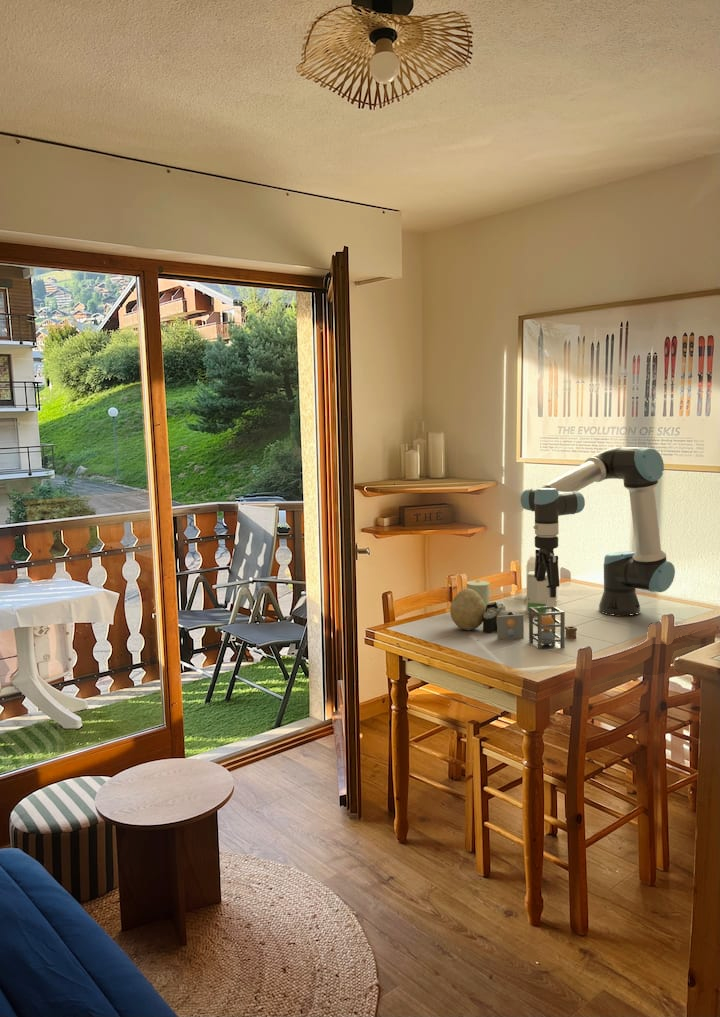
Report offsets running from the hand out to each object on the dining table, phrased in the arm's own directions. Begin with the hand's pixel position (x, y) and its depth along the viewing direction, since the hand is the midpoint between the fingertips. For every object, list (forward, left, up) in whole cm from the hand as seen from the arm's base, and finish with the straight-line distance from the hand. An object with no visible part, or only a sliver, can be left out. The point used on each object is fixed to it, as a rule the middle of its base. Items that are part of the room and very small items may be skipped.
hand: (546, 603), depth 257 cm
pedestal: (-11, -6, -15) cm, 19 cm away
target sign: (+9, -10, -15) cm, 20 cm away
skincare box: (-14, -44, -15) cm, 49 cm away
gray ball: (0, 0, -14) cm, 14 cm away
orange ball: (0, 0, -9) cm, 9 cm away
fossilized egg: (+19, -27, -15) cm, 36 cm away
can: (+8, -51, -15) cm, 54 cm away
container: (-24, -65, -15) cm, 71 cm away
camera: (+9, -23, -15) cm, 29 cm away
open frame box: (0, 0, -15) cm, 15 cm away
